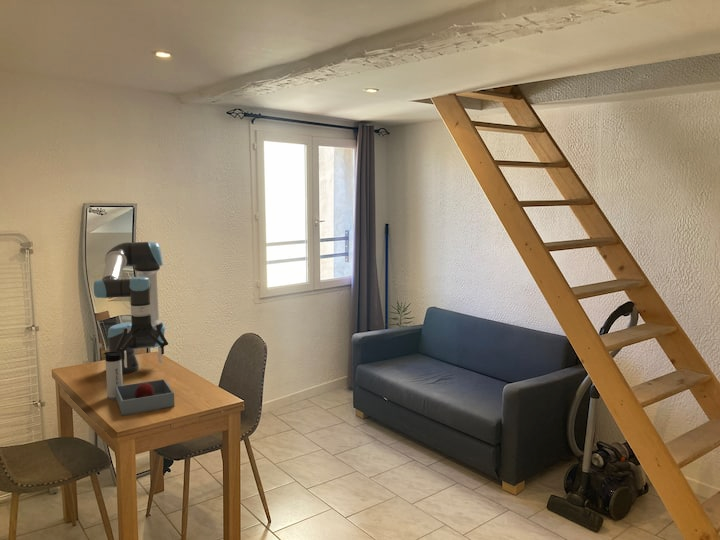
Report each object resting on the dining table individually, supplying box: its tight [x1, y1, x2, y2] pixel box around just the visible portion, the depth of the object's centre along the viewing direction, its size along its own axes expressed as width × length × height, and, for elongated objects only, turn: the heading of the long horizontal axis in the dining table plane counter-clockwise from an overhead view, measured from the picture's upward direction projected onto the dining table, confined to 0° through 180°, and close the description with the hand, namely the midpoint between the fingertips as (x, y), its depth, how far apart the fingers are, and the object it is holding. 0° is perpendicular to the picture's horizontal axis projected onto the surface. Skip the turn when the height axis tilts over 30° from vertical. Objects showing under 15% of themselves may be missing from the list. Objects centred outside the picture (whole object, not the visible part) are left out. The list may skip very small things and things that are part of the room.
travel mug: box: [104, 351, 124, 401], centre depth 238 cm, size 6×7×20 cm
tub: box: [115, 378, 175, 417], centre depth 232 cm, size 20×20×6 cm
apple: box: [135, 383, 154, 398], centre depth 232 cm, size 7×8×8 cm
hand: (143, 364), depth 230 cm, fingers open, 13 cm apart
